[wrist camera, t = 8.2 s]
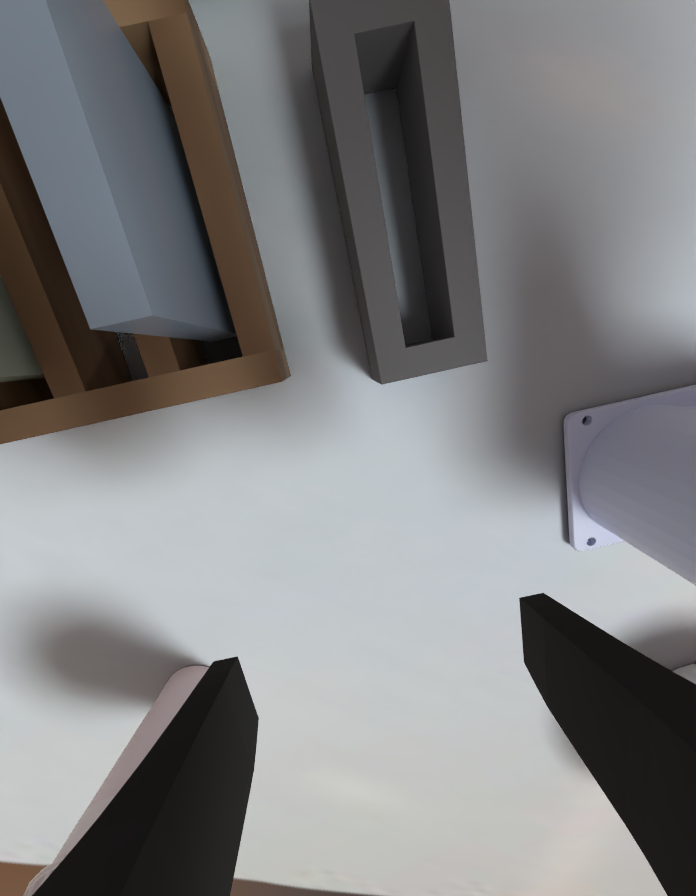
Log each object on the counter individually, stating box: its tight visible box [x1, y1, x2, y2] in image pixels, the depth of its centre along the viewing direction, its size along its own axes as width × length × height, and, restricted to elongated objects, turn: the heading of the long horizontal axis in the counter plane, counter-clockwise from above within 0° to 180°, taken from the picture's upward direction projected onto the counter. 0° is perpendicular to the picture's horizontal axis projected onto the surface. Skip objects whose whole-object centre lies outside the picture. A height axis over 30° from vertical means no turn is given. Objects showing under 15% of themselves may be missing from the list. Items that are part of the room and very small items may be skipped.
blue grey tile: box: [0, 0, 237, 342], centre depth 11 cm, size 1×8×9 cm, turn 12°
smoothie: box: [24, 666, 209, 896], centre depth 15 cm, size 6×6×14 cm
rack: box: [0, 0, 291, 444], centre depth 14 cm, size 12×12×4 cm
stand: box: [309, 0, 487, 384], centre depth 14 cm, size 4×12×3 cm, turn 12°
